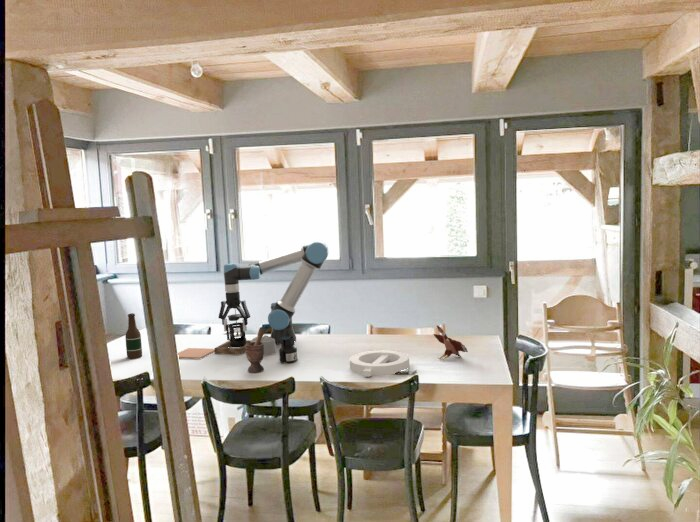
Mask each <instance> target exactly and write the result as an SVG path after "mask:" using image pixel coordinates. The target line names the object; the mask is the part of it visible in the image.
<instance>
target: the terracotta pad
mask: <svg viewBox="0 0 700 522" xmlns="http://www.w3.org/2000/svg"><path fill="white" fill-rule="evenodd" d="M213 352H214V353H215V348H206V347H205V348H204V347H203V348H198V347H196V348H195V347H187V348H185V349H184V350H181V351H179V352H177V353H178V355H179V359H180V358H202V359H204V358H206V357H208V356H210V355H212V354H214V353H213ZM211 353H212V354H211ZM209 354H210V355H209ZM207 355H208V356H207ZM205 356H206V357H205ZM203 357H204V358H203ZM179 359H178V360H179ZM180 360H181V359H180Z"/></svg>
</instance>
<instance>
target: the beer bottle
mask: <svg viewBox="0 0 700 522" xmlns="http://www.w3.org/2000/svg"><path fill="white" fill-rule="evenodd" d="M127 317H128V318H127V319H128V321H127V323H128V325H127V326H128V327H127V328H128V329H127V330H126V332H125V347H126V358H127V359H128V360H136V359H140V358H142V357H143V348H142V335H141V332H140V330H139V329H138V327H137V323H136V318H135V317H136V314H135V313H129V314H127Z"/></svg>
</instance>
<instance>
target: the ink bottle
mask: <svg viewBox="0 0 700 522" xmlns="http://www.w3.org/2000/svg"><path fill="white" fill-rule="evenodd" d="M295 342H296V341H295ZM295 342H294V337H291V336H287V337H282V338H281V344H280V347H279V349H278V352H279V353H278V354H279V362H280V363H282V364H293V363H296V362H297V361H298V348H297V346H296V345H295Z"/></svg>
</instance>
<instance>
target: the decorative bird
mask: <svg viewBox="0 0 700 522" xmlns="http://www.w3.org/2000/svg"><path fill="white" fill-rule="evenodd" d="M436 328H437V331H438V332H439V333H440V334H437V333H435V334H434V333H433V337H434V338H436V339H437V341H438V342H440V343H441V344H443V345H444V347H445V351H444V353H443V354H442V355H441V356H440V357H438V359H439V360H441V361H445V359H447V358H449V357H451V355H455V356H457V357H459V358H462V356H461V354H460V353H459V352H462V353H465V352H466V353H468V349H467V347H466V346H465V344H463V343H462V342H461V341H459V340H455V339H452V338H451V337H448V336H447V333H445V331H444V329H443V328H442V326H441V327H440V326H439V325H436Z"/></svg>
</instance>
